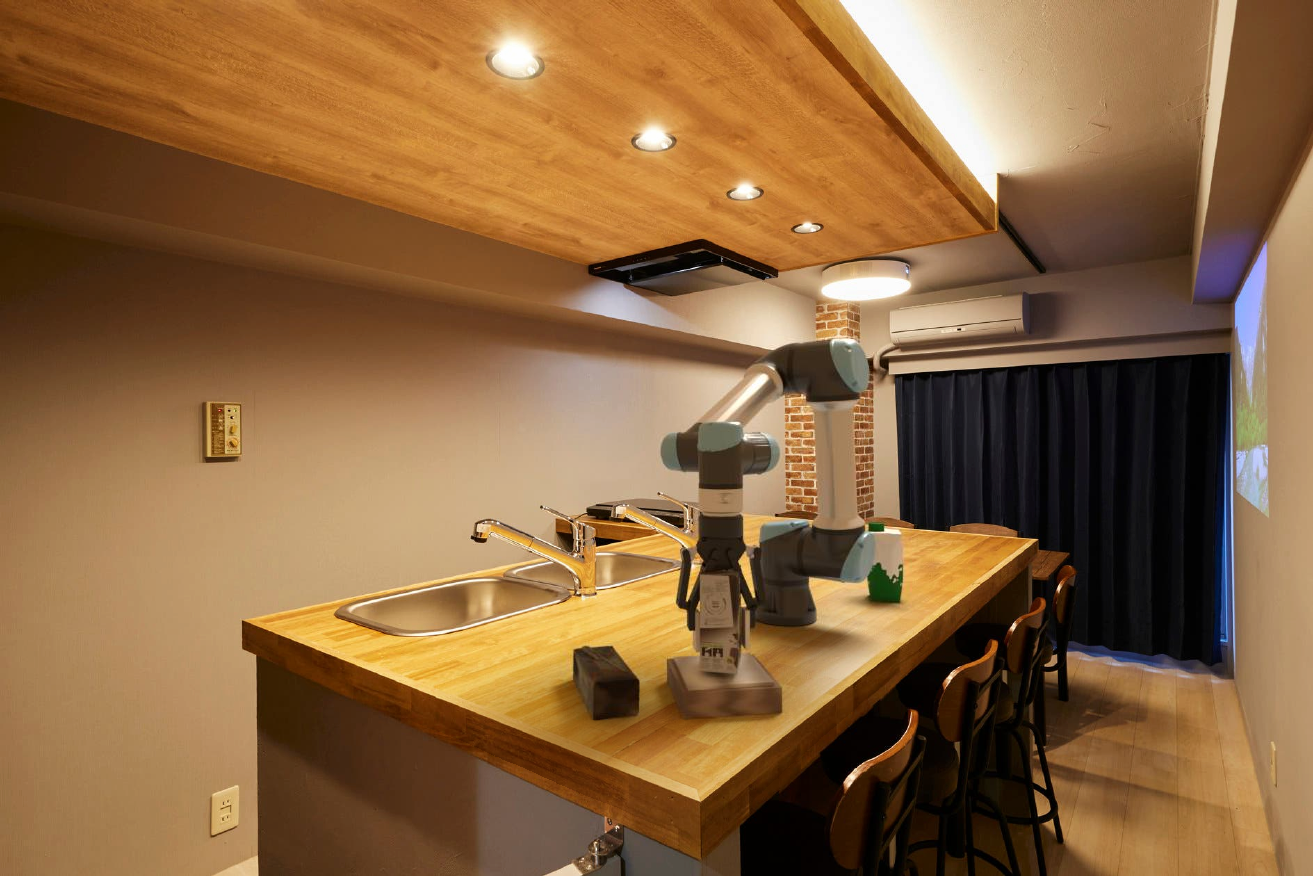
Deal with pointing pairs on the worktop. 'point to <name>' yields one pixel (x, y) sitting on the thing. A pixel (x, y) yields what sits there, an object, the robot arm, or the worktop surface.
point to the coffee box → (720, 621)
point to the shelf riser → (723, 689)
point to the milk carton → (886, 564)
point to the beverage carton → (605, 682)
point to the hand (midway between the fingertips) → (721, 647)
